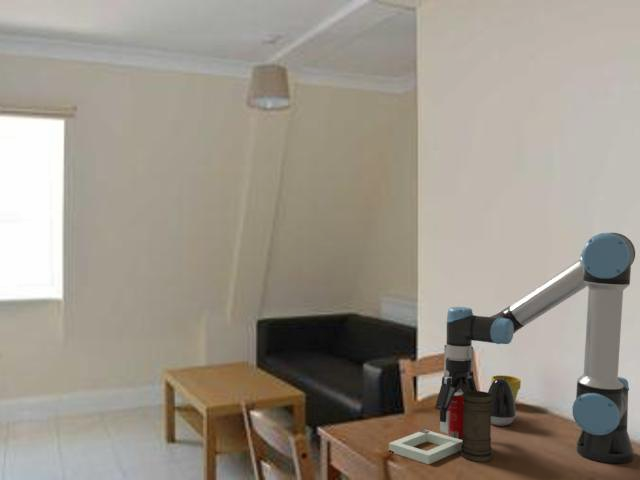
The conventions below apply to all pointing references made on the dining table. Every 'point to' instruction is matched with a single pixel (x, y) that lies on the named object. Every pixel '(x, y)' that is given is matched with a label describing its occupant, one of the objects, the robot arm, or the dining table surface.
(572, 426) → the dining table surface
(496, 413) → the dark grey domed cylinder
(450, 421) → the beverage can
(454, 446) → the socket block
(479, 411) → the container
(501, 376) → the plant pot
